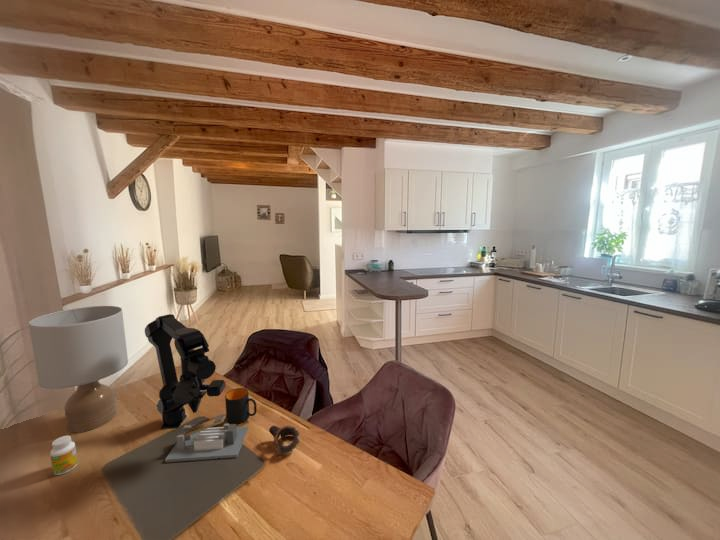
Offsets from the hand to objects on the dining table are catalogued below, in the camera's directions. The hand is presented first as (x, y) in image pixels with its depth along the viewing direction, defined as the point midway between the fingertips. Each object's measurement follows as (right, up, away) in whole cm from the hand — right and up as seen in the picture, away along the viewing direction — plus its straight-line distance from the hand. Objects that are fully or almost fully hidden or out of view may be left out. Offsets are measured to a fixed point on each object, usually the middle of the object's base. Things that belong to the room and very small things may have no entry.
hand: (195, 412), depth 96 cm
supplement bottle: (-36, -14, -8) cm, 39 cm away
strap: (+2, -6, +1) cm, 7 cm away
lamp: (-47, -10, +14) cm, 50 cm away
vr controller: (+29, -13, +3) cm, 32 cm away
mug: (+9, -11, +16) cm, 21 cm away
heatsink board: (+4, -13, +2) cm, 13 cm away
